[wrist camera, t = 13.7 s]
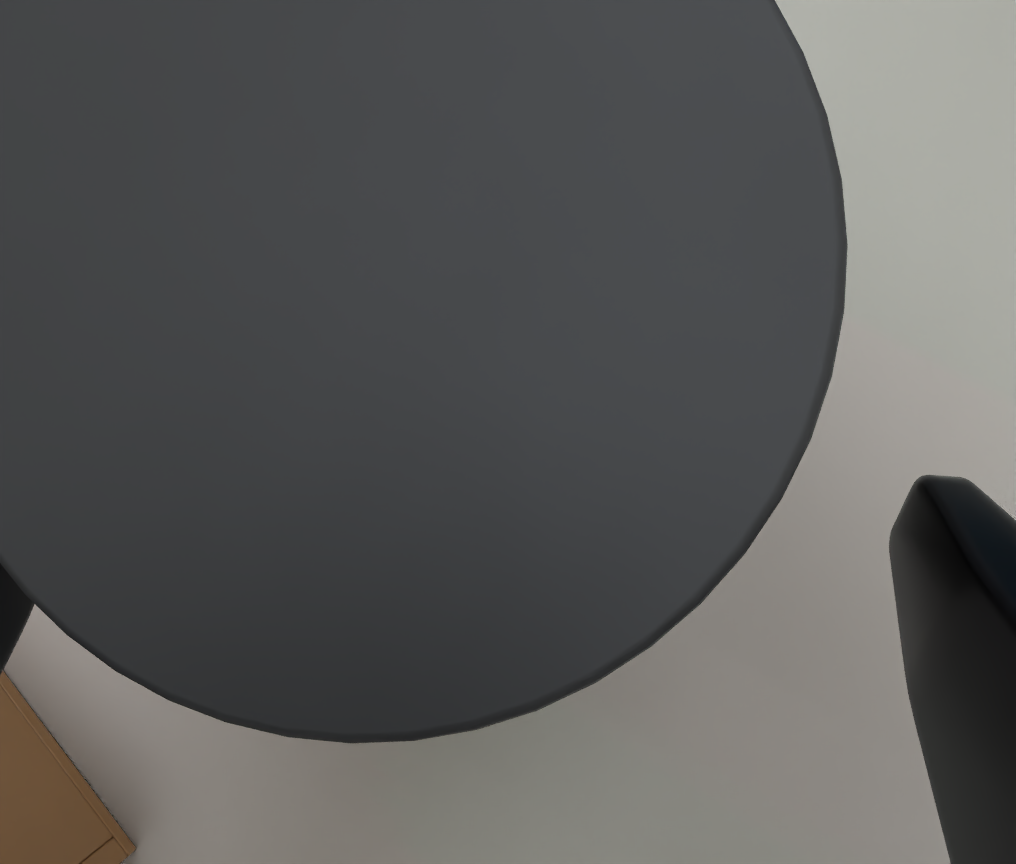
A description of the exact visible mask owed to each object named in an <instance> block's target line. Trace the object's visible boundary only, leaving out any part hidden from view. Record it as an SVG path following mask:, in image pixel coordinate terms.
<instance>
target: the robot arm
mask: <svg viewBox="0 0 1016 864" xmlns="http://www.w3.org/2000/svg"><path fill="white" fill-rule="evenodd" d="M889 553H890V561H891V569H892V577H893V584H894V592H895V600H896V608H897V616H898V623H899V631H900V639H901V647H902V654H903V662H904V670H905V676H906V682H907V689H908V694H909V699H910V703H911V708H912V712H913V717H914V721H915V725H916V729H917V732H918V736H919V740H920V744H921V748H922V752H923V756H924V760H925V764H926V768H927V772H928V776H929V780H930V783H931V787H932V791H933V795H934V799H935V803H936V807H937V811H938V815H939V819H940V823H941V827H942V831H943V835H944V838H945V842H946V846H947V850H948V854H949V858H950V862H951V864H1016V520H1014V519H1013V518H1012V517H1011V516H1010V515H1009V514H1008V513H1007V512H1005V511H1004V510H1003V509H1002V508H1001V507H1000V506H999V505H997V504H996V503H995V502H994V501H993V500H992V499H991V498H989V497H988V496H987V495H986V494H985V493H984V492H983V491H981V490H980V489H979V488H978V487H977V486H976V485H975V484H973V483H972V482H971V481H969V480H967V479H965V478H962V477H952V476H936V475H925V476H921V477H919V478H918V479H917V480H916V481H915V482H914V484H913V486H912V487H911V490H910V492H909V494H908V496H907V498H906V500H905V502H904V504H903V506H902V509H901V511H900V513H899V515H898V517H897V519H896V521H895V523H894V525H893V528H892V530H891V534H890V541H889ZM34 604H35V603H34V602H32V601H31V600H30V599H29V598H28V597H27V596H26V595H25V594H24V592H23V591H22V590H21V589H20V587H19V586H18V585H17V584H16V582H15V581H14V580H13V579H12V577H11V576H10V575H9V574H8V572H7V571H6V570H5V568H4V567H3V566H2V565H1V563H0V675H1V673H2V671H3V669H4V667H5V665H6V663H7V661H8V659H9V657H10V655H11V653H12V651H13V649H14V647H15V645H16V643H17V641H18V639H19V637H20V635H21V633H22V631H23V629H24V627H25V625H26V622H27V620H28V618H29V616H30V613H31V611H32V609H33V606H34Z"/></svg>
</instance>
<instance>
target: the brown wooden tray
mask: <svg viewBox="0 0 1016 864" xmlns="http://www.w3.org/2000/svg"><path fill="white" fill-rule="evenodd" d="M135 850H136V847H135V846H134V845H133V843H132V842H131V841H130V839H129V838H128V837H127V835H126V834H125V833H124V831H123V830H122V829H121V827H120V826H119V825H118V823H117V822H116V821H115V819H114V818H113V817H112V815H111V814H110V813H109V811H108V810H107V809H106V807H105V806H104V805H103V803H102V802H101V801H100V799H99V798H98V797H97V795H96V794H95V793H94V791H93V790H92V789H91V787H90V786H89V785H88V783H87V782H86V781H85V779H84V778H83V777H82V775H81V774H80V773H79V771H78V770H77V769H76V767H75V766H74V765H73V763H72V762H71V761H70V759H69V758H68V757H67V755H66V754H65V753H64V751H63V750H62V749H61V747H60V746H59V745H58V743H57V742H56V741H55V739H54V738H53V737H52V735H51V734H50V733H49V731H48V730H47V729H46V727H45V726H44V725H43V723H42V722H41V721H40V719H39V718H38V717H37V715H36V714H35V713H34V711H33V710H32V709H31V707H30V706H29V705H28V703H27V702H26V701H25V699H24V698H23V697H22V695H21V694H20V693H19V691H18V690H17V689H16V687H15V686H14V685H13V683H12V682H11V681H10V679H9V678H8V677H7V675H6V674H5V673H4V671H2V673H1V675H0V864H120V863H121V862H122V861H123V860H125V859H126V858H127V857H128V856H129V855H130V854H131V853H133V852H134V851H135Z"/></svg>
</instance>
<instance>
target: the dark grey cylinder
mask: <svg viewBox="0 0 1016 864" xmlns="http://www.w3.org/2000/svg"><path fill="white" fill-rule="evenodd" d="M846 263H847V235H846V223H845V212H844V200H843V189H842V179H841V174H840V170H839V166H838V161H837V157H836V153H835V148H834V144H833V139H832V135H831V131H830V126H829V122H828V118H827V114H826V111H825V109H824V106H823V103H822V101H821V98H820V96H819V93H818V90H817V88H816V85H815V82H814V80H813V77H812V75H811V72H810V69H809V67H808V64H807V61H806V59H805V56H804V53H803V51H802V49H801V48H800V46H799V44H798V42H797V40H796V38H795V37H794V35H793V33H792V31H791V29H790V28H789V26H788V24H787V22H786V20H785V18H784V17H783V15H782V13H781V11H780V9H779V7H778V6H777V4H776V2H775V0H0V563H1V565H2V566H3V567H4V568H5V570H6V571H7V572H8V574H9V575H10V576H11V577H12V579H13V580H14V581H15V582H16V584H17V585H18V586H19V587H20V589H21V590H22V591H23V592H24V594H25V595H26V596H27V597H28V598H29V599H30V600H31V601H32V602H34V603H35V604H36V605H37V606H38V607H39V608H40V609H41V610H42V611H43V612H44V613H45V614H46V615H47V616H48V617H49V618H50V619H51V620H52V621H53V622H54V623H55V624H56V625H57V626H58V627H59V628H60V629H61V630H62V631H63V632H65V633H66V634H67V635H68V636H69V637H70V638H72V639H73V640H74V641H76V642H77V643H78V644H80V645H81V646H83V647H84V648H85V649H87V650H88V651H89V652H91V653H92V654H93V655H95V656H96V657H97V658H99V659H100V660H101V661H103V662H104V663H105V664H107V665H108V666H110V667H111V668H112V669H114V670H115V671H116V672H118V673H120V674H122V675H124V676H126V677H127V678H129V679H131V680H133V681H135V682H136V683H138V684H140V685H142V686H144V687H146V688H147V689H149V690H151V691H153V692H155V693H156V694H158V695H160V696H162V697H164V698H166V699H167V700H169V701H172V702H175V703H177V704H180V705H182V706H185V707H187V708H190V709H193V710H195V711H198V712H200V713H203V714H206V715H208V716H211V717H213V718H216V719H219V720H221V721H224V722H227V723H231V724H235V725H239V726H244V727H248V728H252V729H256V730H260V731H265V732H269V733H273V734H277V735H281V736H286V737H292V738H302V739H312V740H323V741H333V742H343V743H371V742H398V741H416V740H422V739H427V738H433V737H439V736H444V735H450V734H456V733H462V732H467V731H473V730H478V729H481V728H484V727H487V726H490V725H493V724H496V723H500V722H503V721H506V720H509V719H512V718H515V717H518V716H521V715H525V714H528V713H531V712H534V711H537V710H539V709H541V708H544V707H546V706H548V705H550V704H552V703H554V702H556V701H558V700H560V699H562V698H565V697H567V696H569V695H571V694H573V693H575V692H577V691H579V690H581V689H584V688H586V687H588V686H590V685H592V684H594V683H596V682H598V681H599V680H601V679H602V678H604V677H605V676H607V675H608V674H610V673H611V672H613V671H614V670H616V669H618V668H619V667H621V666H622V665H624V664H625V663H627V662H628V661H630V660H631V659H633V658H634V657H636V656H637V655H639V654H641V653H642V652H644V651H645V650H647V649H648V648H650V647H651V646H652V645H653V644H655V643H656V642H657V641H658V640H659V639H660V638H662V637H663V636H664V635H665V634H666V633H667V632H669V631H670V630H671V629H672V628H673V627H674V626H675V625H677V624H678V623H679V622H680V621H681V620H682V619H684V618H685V617H686V616H687V615H688V614H689V613H691V612H692V611H693V610H694V609H695V608H696V607H697V606H699V605H700V604H701V603H702V602H703V601H704V599H705V598H706V597H707V596H708V595H709V594H710V593H711V591H712V590H713V589H714V588H715V587H716V586H717V585H718V584H719V582H720V581H721V580H722V579H723V578H724V577H725V576H726V575H727V573H728V572H729V571H730V570H731V569H732V568H733V567H734V565H735V564H736V563H737V562H738V561H739V560H740V559H741V558H742V556H743V555H744V554H745V553H746V551H747V550H748V548H749V547H750V545H751V544H752V542H753V541H754V539H755V538H756V536H757V535H758V533H759V532H760V530H761V529H762V527H763V526H764V524H765V523H766V521H767V520H768V518H769V517H770V515H771V514H772V512H773V511H774V509H775V508H776V506H777V505H778V503H779V502H780V500H781V499H782V497H783V495H784V493H785V491H786V489H787V487H788V485H789V483H790V481H791V479H792V477H793V475H794V472H795V470H796V468H797V466H798V464H799V462H800V460H801V458H802V456H803V454H804V452H805V450H806V448H807V446H808V444H809V442H810V440H811V437H812V434H813V431H814V428H815V425H816V422H817V419H818V416H819V413H820V410H821V407H822V404H823V401H824V398H825V395H826V392H827V389H828V386H829V383H830V380H831V377H832V373H833V367H834V362H835V357H836V351H837V346H838V341H839V335H840V330H841V325H842V319H843V314H844V303H845V283H846Z"/></svg>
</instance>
